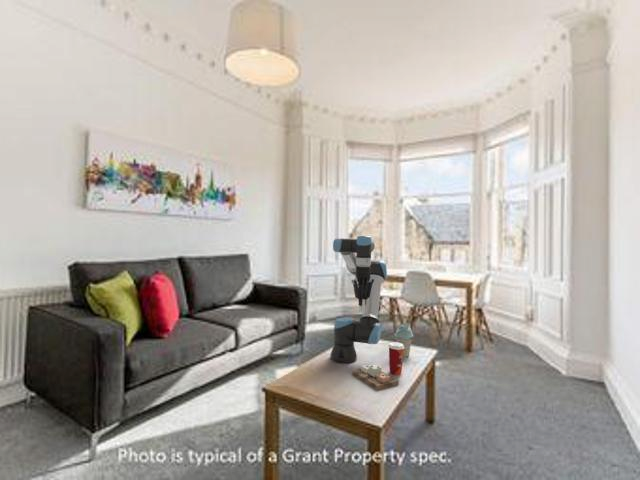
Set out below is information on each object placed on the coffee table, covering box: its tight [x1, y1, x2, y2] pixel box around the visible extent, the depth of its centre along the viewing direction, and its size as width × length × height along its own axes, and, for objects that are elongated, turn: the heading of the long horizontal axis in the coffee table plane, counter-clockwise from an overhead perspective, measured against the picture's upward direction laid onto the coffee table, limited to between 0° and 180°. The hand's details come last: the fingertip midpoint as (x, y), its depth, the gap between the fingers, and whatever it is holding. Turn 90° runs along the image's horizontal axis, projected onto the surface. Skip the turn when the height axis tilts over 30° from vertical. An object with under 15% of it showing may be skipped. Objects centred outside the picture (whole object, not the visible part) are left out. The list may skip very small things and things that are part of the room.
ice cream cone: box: [394, 322, 414, 358], centre depth 210 cm, size 10×11×20 cm
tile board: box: [352, 368, 400, 391], centre depth 174 cm, size 20×13×2 cm, turn 30°
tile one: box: [360, 364, 371, 374], centre depth 180 cm, size 4×4×4 cm
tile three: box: [376, 372, 391, 383], centre depth 169 cm, size 4×4×4 cm
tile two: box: [369, 364, 382, 378], centre depth 174 cm, size 4×4×4 cm
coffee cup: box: [388, 341, 404, 376], centre depth 183 cm, size 8×8×15 cm
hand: (362, 311), depth 179 cm, fingers closed
